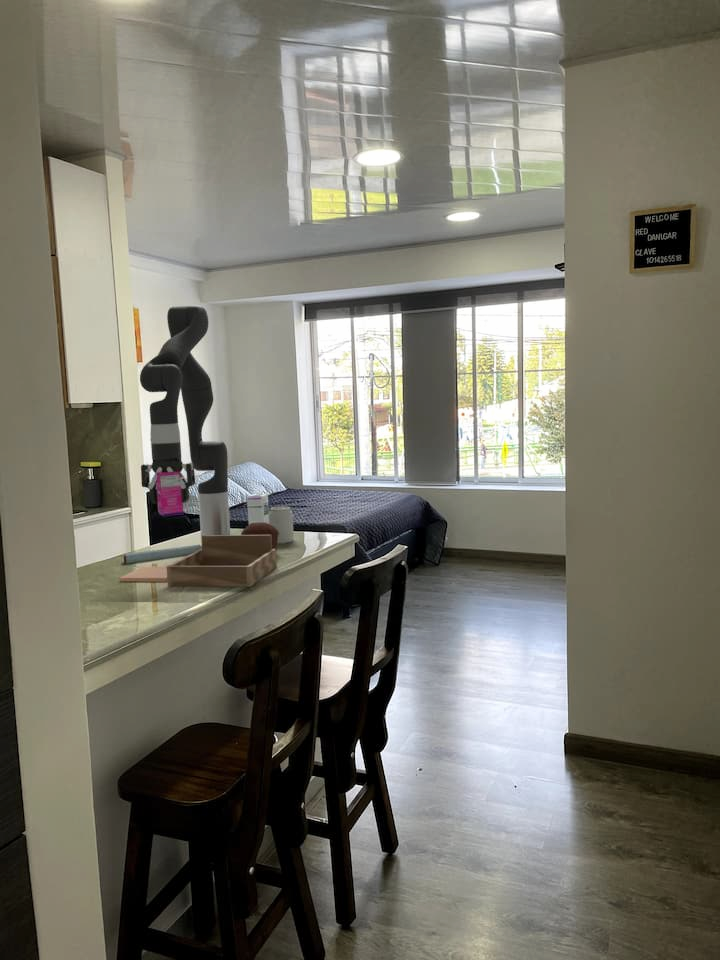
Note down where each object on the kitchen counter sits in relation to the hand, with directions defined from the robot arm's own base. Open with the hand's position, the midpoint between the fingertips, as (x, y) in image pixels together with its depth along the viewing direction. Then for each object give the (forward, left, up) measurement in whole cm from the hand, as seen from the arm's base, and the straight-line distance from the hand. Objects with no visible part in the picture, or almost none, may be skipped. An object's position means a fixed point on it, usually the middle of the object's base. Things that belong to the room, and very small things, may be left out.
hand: (169, 502), depth 197 cm
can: (-44, +17, -20) cm, 51 cm away
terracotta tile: (0, -6, -20) cm, 21 cm away
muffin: (-25, +16, -20) cm, 36 cm away
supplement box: (0, 0, -3) cm, 3 cm away
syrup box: (-58, +5, -20) cm, 61 cm away
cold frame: (0, +14, -20) cm, 24 cm away
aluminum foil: (-20, -12, -20) cm, 31 cm away
